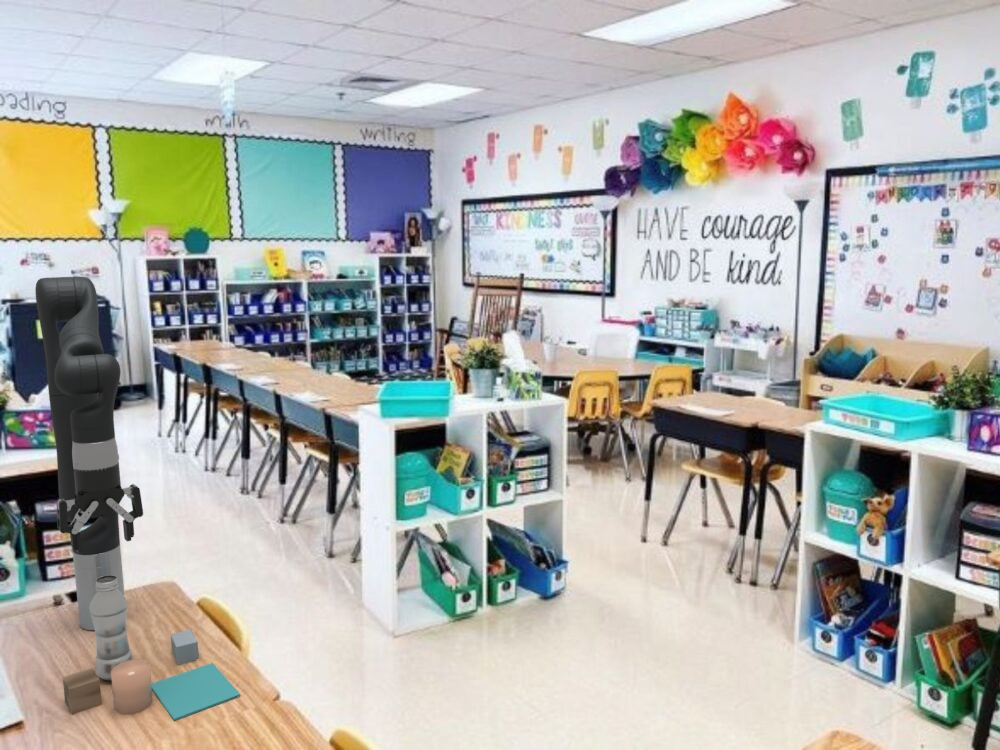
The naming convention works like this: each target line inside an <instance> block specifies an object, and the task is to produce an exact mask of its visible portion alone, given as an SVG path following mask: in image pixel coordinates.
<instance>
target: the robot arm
mask: <svg viewBox="0 0 1000 750" xmlns="http://www.w3.org/2000/svg"><path fill="white" fill-rule="evenodd" d="M34 289H35V302H36V309H37V314H38V319H39V325H40V331H41V335H42V341H43V347H44V349H43V350H44V353H45V355H44V356H45V362H46V363H45V364H46V365H45V366H46V376H47V386H48V387H47V388H48V395H49V396H48V398H49V399H48V400H49V406H50V407H49V408H50V414H51V421H52V427H53V433H54V441H55V442H54V443H55V448H56V449H55V450H56V461H57V463H56V464H57V482H58V483H57V486H58V499H57V500H56V521H57V522H56V523H57V525H56V527H57V529H58V530H59V532H60V533H61V534H69V536H70V547H71V548H72V558H73V559H72V561H73V570H74V579H75V588H76V589H75V590H76V597H77V598H76V599H77V611H78V620H79V622H78V623H79V627H80V628H81V629H82V630H85V631H87V630H88V631H95V628H94V624H93V621H92V617H91V613H90V603H91V601H92V599H93V598H94V596H95V595H96V593H97V592H98V591H96V579H97V578H99V577H101V576H105V575H115V576H117V582H118V588H117V589H118V590H119V591H120V592H121V593H122V594H123V595H124V596H125V585H124V584H125V583H124V573H123V562H122V553H121V540H120V538H121V537H120V526H119V516H120V517H122V518H123V520H122V525H123V537H124V540H125V541H126V542H131V541H132V538H134V537H135V528H134V527H135V526H134V521H135V520H136V519H138V518H141V517H143V515H144V510H143V502H142V495H141V491H140V490H141V489H140V487H139V486H138V485H136V484H135V483H131V485H129V486H128V487H124V488H123V487H122V486H121V485H122V484H121V473H120V462H119V461H120V454H119V451H118V444H117V441H116V433H115V432H116V431H115V421H114V417H115V416H114V411H115V410H114V409H115V402H116V401H115V400H116V398H117V392H118V389H119V384H120V378H121V371H122V370H121V365H120V363H119V361H118V360H117V359H116V357H115V356H113V355H112V354H109V353H105V352H104V348H103V343H102V340H101V337H100V331H99V329H100V328H99V324H100V320H99V319H100V318H99V317H100V316H99V314H100V313H99V303H98V295H97V291H96V287H95V284H94V282H93V281H92V280H91V278H88V277H86V276H59V277H58V276H56V277H55V276H53V277H42V278H39V279H38V280H37V282H36V283H35V288H34ZM65 322H66V323H65ZM58 323H65V325H64V326H63V327H62V329H61V330H59V327H58ZM99 394H100V395H99ZM125 495H126V497H128V498H129V499H130V501H131V506H132V510H131V511H129V512H128V511H127V510H126V509H125V508H124V507H122V506H121V505H120V503H121V501H122V499H123V498H124V497H125ZM96 518H97V519H96ZM92 519H96V520H95V521H94V522H93V523H92V524H90V525H89V526H88V527H86V528H83V526H84V525H85V524H86V523H87V522H88V520H92ZM68 523H70V524H68ZM82 528H83V529H82ZM81 529H82V530H81ZM125 597H126V596H125Z"/></svg>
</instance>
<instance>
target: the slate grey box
mask: <svg viewBox="0 0 1000 750" xmlns="http://www.w3.org/2000/svg"><path fill="white" fill-rule="evenodd" d="M198 643H199V642H198V639H197V638H196V636H195V634H194V632H193V630H192V629H185V630H183V631H182V630H181V631H178V632H174V633H171V634H170V644H171V645H170V646H171V653H172V655H173V657H174V659H175V662H176V665H177V666H178V665H179V666H180V665H183V664H187V663H191V662H195V661H198V660H197V659H199V658H200V656H199V645H198ZM194 660H195V661H194Z"/></svg>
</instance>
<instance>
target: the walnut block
mask: <svg viewBox="0 0 1000 750" xmlns="http://www.w3.org/2000/svg"><path fill="white" fill-rule="evenodd" d="M100 681H101V680H100V677H99V676H98V674H97V672H96V670H94V668H93V667H92V668H91V667H90V668H88V669H85V670H81V671H79V672H75V673H72V674H69V675H66V676H63V677H62V686H63V696H64V703H65V705H66V706H67V708H68V710H69V712H70V715H71V716H72V715H75V714H77V713H80V712H83V711H86V710H89V709H92V708H96V707H99V706H100V705H102V704H103V701H102V691H101V682H100Z"/></svg>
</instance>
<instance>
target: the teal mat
mask: <svg viewBox="0 0 1000 750" xmlns="http://www.w3.org/2000/svg"><path fill="white" fill-rule="evenodd" d="M151 686H152V693H154V694H155V696H156V697H157V699H158V701H160V703H161V704H162V706H163V708H165V710H166V712H167V713H168V714H169V716H170V717H171V718H172V720H173V722H176V721H177V720H180V719H184V718H185V717H188V716H192V715H194V714H196V713H199V712H201V711H202V712H203V711H204V710H207V709H210V708H213V707H215V706H218V705H220V704H223V703H226V702H229V701H231V700H234V699H237V698H239V697H241V693H240V692H239V690H237V688H236V687H235V686H234V685H233V684H232V683H231V682H230V681H229V680H228V679H227V677H226V675H224V674H223V673H222V672H221V670H219V669H218V667H217V666H216V665H215V664H214V663H213V662H211V663H208V664H205V665H201V666H198V667H196V668H193V669H189V670H187V671H183V672H182V673H179V674H176V675H172V676H170V677H167V678H164V679H161V680H158V681H155V682H151ZM238 696H239V697H238ZM236 697H237V698H236Z"/></svg>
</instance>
